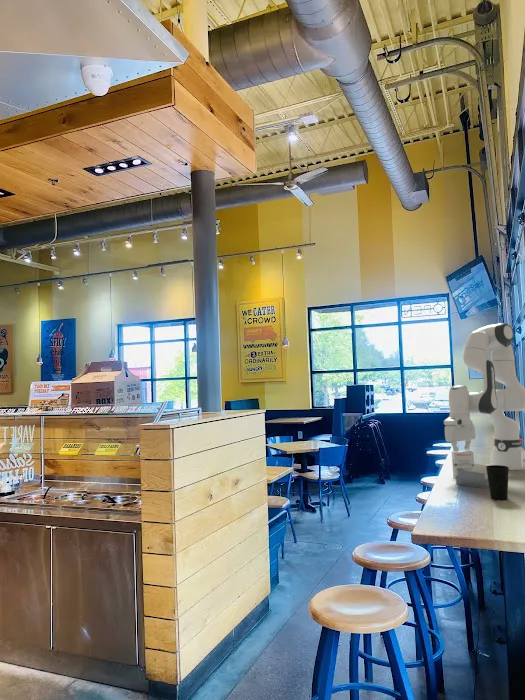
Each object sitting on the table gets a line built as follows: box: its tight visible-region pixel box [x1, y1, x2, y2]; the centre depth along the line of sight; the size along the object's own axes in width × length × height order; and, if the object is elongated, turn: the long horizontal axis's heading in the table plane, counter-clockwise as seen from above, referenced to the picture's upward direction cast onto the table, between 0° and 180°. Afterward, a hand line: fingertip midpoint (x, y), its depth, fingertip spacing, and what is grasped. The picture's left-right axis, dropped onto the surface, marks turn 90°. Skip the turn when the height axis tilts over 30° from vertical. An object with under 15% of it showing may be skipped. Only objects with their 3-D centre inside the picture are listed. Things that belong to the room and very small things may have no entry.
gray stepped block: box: [455, 470, 490, 489], centre depth 219 cm, size 16×13×6 cm
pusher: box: [474, 462, 490, 479], centre depth 221 cm, size 5×10×7 cm, turn 39°
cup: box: [486, 464, 510, 502], centre depth 191 cm, size 8×8×12 cm
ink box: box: [451, 450, 475, 478], centre depth 235 cm, size 9×5×12 cm, turn 84°
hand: (461, 450), depth 235 cm, fingers open, 8 cm apart
